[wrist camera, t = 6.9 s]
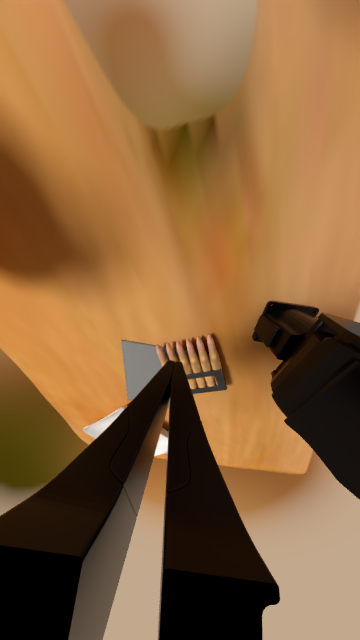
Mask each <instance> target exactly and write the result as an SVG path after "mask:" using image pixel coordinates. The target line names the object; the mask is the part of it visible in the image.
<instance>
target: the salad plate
mask: <svg viewBox="0 0 360 640" xmlns="http://www.w3.org/2000/svg"><path fill="white" fill-rule="evenodd" d="M125 408H127V406H122V407H120V408H119V409H117V410H116V411H114V412H113V413H111V414H109V415H108V416H106V417H104V418H102V419H100V420H98V421H96V422H94V423H91V424H89V425H88V426H86V427H85V428H84V429H83V431H84V432H86V433H87V434H89V435H90V436H92V437H94V438H95V439H96V438H97V437H98V436H99V435H100V434H101V433H102V432H103V431H104V430H105V429H106V428H107V427H108V426H109V425H110V424H111V423H112V422H113V421H114V420H115V419H116V418H117V417H118V416H119V415H120V414H121V413H122V411H123V410H124V409H125ZM167 449H168V431H167V430H165V429H164V428H163V427H162V430H161V433H160V437H159V440H158V444H157V447H156V451H155V454H154V456H157V455H161V454H164V453H167Z"/></svg>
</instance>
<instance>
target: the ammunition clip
mask: <svg viewBox="0 0 360 640" xmlns="http://www.w3.org/2000/svg"><path fill="white" fill-rule="evenodd" d="M207 344H208V350H209V357H208V355H207V353H206V350H205V347H204V344H203V342H202V340H201V338H200V337H199V336H197V348H198V353H199V358H198V356H197V355H196V352H195V350H194V347H193V345H192V343H191V341H190V340H189V339H188V338H187V340H186V346H187V350H188V354H189V359H188V357H187V356H186V353H185V351H184V349H183V347H182V345H181V343H180V342H179V341H176V347H177V352H178V355H179V359H180V362H182V363H183V366H184V369H185V373H186V376H187V379H188V382H189V385H190V388H191V391H192V394H196V393H204V392H212V391H220V390H226V389H227V386H226V383H225V379H224V376H223V371H222V367H221V363H220V358H219V354H218V352H217V350H216V346H215V343H214V340H213V338H212V337H211V335H210V334H208V337H207ZM156 349H157V354H158V357H159V359H160V362H161V366H162V367H163V365H164V364H165V363H166V362H167V361H168V359H167V357H166V356H165V353H164V352H163V350H162V348H161V347H160V346H159V345H156ZM166 349H167V353H168V356H169V359H170V360H173V361H179V360H178V359H177V357H176V355H175V353H174V350H173V348H172V347H171V346H170V344H169V343H166ZM209 358H210V360H209ZM199 359H200V362H199ZM189 360H190V362H189ZM210 362H211V364H210ZM200 363H201V365H200ZM190 364H191V365H190ZM202 370H203V371H202ZM212 370H213V371H212ZM204 377H205V378H204Z"/></svg>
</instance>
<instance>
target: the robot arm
mask: <svg viewBox="0 0 360 640" xmlns="http://www.w3.org/2000/svg"><path fill="white" fill-rule="evenodd" d="M271 304H273V305H272V306H270V305H271ZM313 310H314V311H313ZM312 311H313V312H312ZM318 311H319V309H318V308H316V307H311V306H304V305H297V304H290V303H283V302H277V301H269V302H268V303H267V305H266V307H265V309H264V311H263V314H262V315H261V316H260V318H259V320H258V322H257V325H256V327H255V329H254V330H255V331H254V334H253V336H252V339H253V340H254V341H258V342H264V344H265V345H266V347H269V348H270V349H271V351H272V352H273V354H274V355H275V356H276V358H277V359H279V360H283V362H282V363H281V364H280V365H279V366H278V367H277V369H276V370H274V371H273V372H272V373H271V374H272V381H271V387H272V391H273V394H272V397H273V399H274V401H275V403H276V404H277V406H278V407H279V408H280V410H281V411H282V412H283V414H284V415H285V416H286V417H287V418H286V419H285V420H284V421H285V423H286V424H287V425H288V426H289V427H290V428H292V429H293V430H294V431H295V432H297V433H298V434H299V435H300V436H301V437H302V438H303V439H304V440H305V441H306V442H307V443H308V444H309V445H310V446H311V448H312V449H313V450H314V451H315V452H316V454H317V455H318V456H319V457H320V458H321V460H322V461H323V462H324V464H325V465H326V466H327V468H328V469H329V470H330V471H331V473H332V474H333V475H334V476H335V478H336V479H337V480H338V481H339V482H340V483H341V484H342V485H343V486H344V487H346V488H347V489H348V490H349V491H350V492H351V493H353V494H354V495H355V496H356V497H357V498H359V499H360V323H358V322H354V321H351V320H347V319H343V318H340V317H336V316H333V315H329V314H325V313H321V314H320V315H319V317H318V318H319V319H318V320H317V319H315V316H316V315H317V313H318ZM255 337H257V338H255ZM169 401H170V409H169V429H168V449H167V469H166V489H165V508H164V528H163V548H162V569H161V588H160V589H161V590H160V609H159V627H158V628H159V629H158V640H262V613H263V610H264V609H265V607H267V606H269V605H276V604H277V603H279V601H280V597H279V596H280V595H279V586H278V585H277V583H276V581H275V580H274V578H273V576H272V575H271V573H270V571H269V570H268V568H267V566H266V564H265V563H264V561H263V559H262V558H261V556H260V554H259V553H258V551H257V549H256V547H255V546H254V544H253V542H252V540H251V538H250V536H249V534H248V532H247V530H246V528H245V526H244V524H243V522H242V520H241V517H240V516H239V513H238V511H237V509H236V506H235V504H234V502H233V499H232V497H231V495H230V493H229V490H228V488H227V486H226V483H225V481H224V479H223V476H222V474H221V472H220V469H219V467H218V465H217V462H216V460H215V458H214V455H213V453H212V450H211V448H210V445H209V443H208V440H207V437H206V434H205V431H204V428H203V425H202V422H201V420H200V416H199V413H198V410H197V407H196V404H195V401H194V397H193V394H192V391H191V388H190V385H189V382H188V379H187V376H186V373H185V369H184V366H183V363H182V362H180V361H173V360H168V361H167V362H166V363H165V364H164V365H163V367H162V368H161V369H160V370H159V371H158V372H157V373H156V374H155V376H154V377H153V378H152V379H151V380H150V381H149V382H148V383H147V385H146V386H145V387H144V388H143V389H142V390H141V391H140V392H139V394H138V395H137V396H136V397H135V398H134V399H133V400H132V401H131V403H130V404H129V405H128V406H127V408H125V409H124V410H123V411H122V413H121V414H120V415H119V416H118V417H117V418H116V419H115V420H114V421H113V422H112V423H111V424H110V425H109V426H108V427H107V428H106V429H105V430H104V431H103V432H102V433H101V434H100V435H99V436H98V437H97V438H96V439H95V440H94V441H93V442H92V443H91V444H90V445H89V446H88V447H87V448H86V449H85V450H84V451H83V452H81V453H80V454H79V455H78V456H77V457H76V458H75V459H74V460H73V461H72V462H71V463H70V464H69V465H68V466H67V467H66V468H65V469H63V470H62V471H61V472H60V473H59V474H58V475H57V476H56V477H55V478H54V479H52V480H51V481H50V482H49V483H48V484H46V485H45V486H44V487H43V488H41V489H40V490H39V491H37V492H36V493H35V494H33V495H32V496H30V497H29V498H27V499H26V500H24V501H23V502H21V503H20V504H18V505H17V506H15V507H13V508H12V509H10V510H9V511H7V512H6V513H4V514H3V515H1V516H0V640H102V639H103V635H104V632H105V629H106V625H107V622H108V618H109V615H110V611H111V607H112V603H113V600H114V597H115V593H116V590H117V586H118V583H119V579H120V575H121V572H122V568H123V565H124V561H125V557H126V554H127V550H128V547H129V543H130V540H131V536H132V533H133V529H134V526H135V522H136V517H137V515H138V511H139V508H140V504H141V500H142V497H143V493H144V490H145V486H146V483H147V479H148V476H149V472H150V469H151V465H152V462H153V458H154V454H155V451H156V447H157V444H158V440H159V437H160V433H161V430H162V426H163V422H164V419H165V415H166V412H167V408H168V405H169Z"/></svg>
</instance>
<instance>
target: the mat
mask: <svg viewBox="0 0 360 640" xmlns="http://www.w3.org/2000/svg"><path fill="white" fill-rule="evenodd" d="M121 342H122V351H123V360H124V369H125V378H126V387H127V396H128V400H133V399H134V398H135V397H136V396H137V395H138V394H139V392H140V391H141V390H142V389H143V388H144V387H145V386H146V385H147V383H148V382H149V381H150V380H151V379H152V378H153V377H154V376H155V374H156V373H157V372H158V371H159V370H160V369H161V368H162V366H161V362H160V359H159V357H158V354H157V349H156V346H155V345H149V344H143V343H137V342H131V341H126V340H122V341H121ZM160 347H161V346H160ZM161 348H162V350H163V352H164V353H165V356H166V357H167V359H168V360H170V359H169V356H168V353H167V349H166V347H161ZM173 350H174V353H175V355H176V357H177V359H178V360H179V361H180V359H179V355H178V352H177V349H173ZM185 353H186V356H187V357H188V359H189V354H188V351H185ZM189 362H190V360H189ZM168 408H170V401H169V405H168Z"/></svg>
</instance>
